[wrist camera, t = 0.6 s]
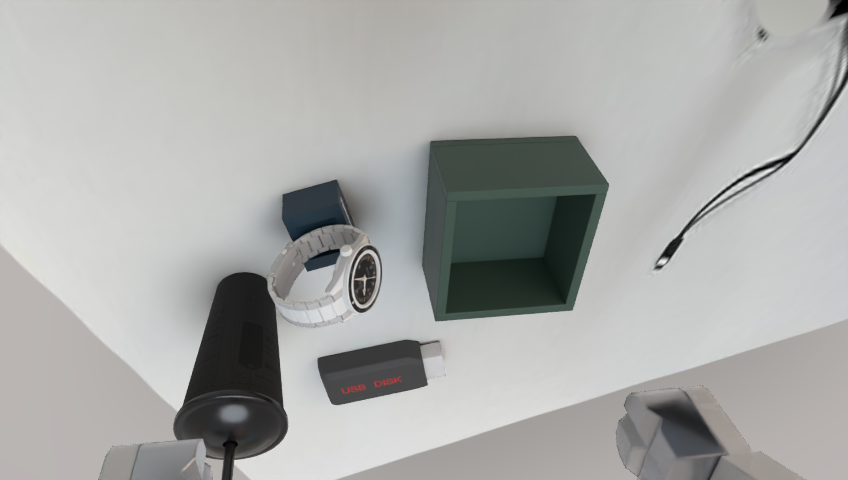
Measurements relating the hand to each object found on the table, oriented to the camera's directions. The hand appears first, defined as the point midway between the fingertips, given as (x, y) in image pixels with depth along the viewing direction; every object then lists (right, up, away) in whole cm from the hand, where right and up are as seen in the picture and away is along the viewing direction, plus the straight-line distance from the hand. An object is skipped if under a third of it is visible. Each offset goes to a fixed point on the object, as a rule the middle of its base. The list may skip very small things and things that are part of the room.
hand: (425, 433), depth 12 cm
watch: (-8, +6, +37) cm, 39 cm away
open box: (+6, +7, +39) cm, 40 cm away
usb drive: (-4, -9, +50) cm, 51 cm away
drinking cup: (-16, -1, +41) cm, 44 cm away
